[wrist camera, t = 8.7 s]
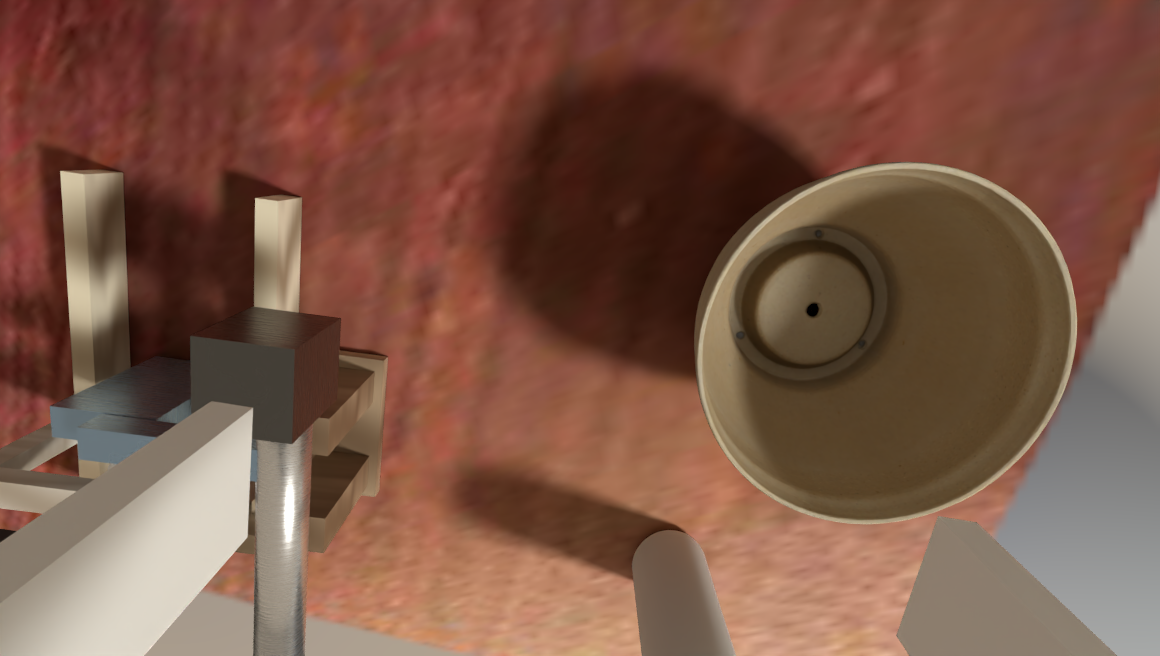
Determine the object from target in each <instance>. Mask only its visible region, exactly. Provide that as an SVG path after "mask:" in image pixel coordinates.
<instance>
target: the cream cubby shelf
mask: <svg viewBox="0 0 1160 656" xmlns="http://www.w3.org/2000/svg"><path fill="white" fill-rule="evenodd" d="M387 363H388V357H386V356H379V355H371V354H364V353H356V352H349V351H341V350H339V371H338V393H337V400H336V401H335V402H334V403H333V404H332V405H331V406H330V407H329V408H328V409H327V410H326V411H325V412H324V413H323V414H322V415H321V416H320V417H319V418H318V419H317V420H316V421H315V422H314V423H313V438H312V465H311V492H310V519H309V547H308V551H310V552H318V553H324V552H325V550H326V549H327V547H328V546H329V544H330V543H331V541H332V540H333V538H334V536H335V535H336V533H337V532H338V530H339V529H340V527H341V526H342V524H343V523H344V521H345V520H346V518H347V516H348V515H349V513H350V512H351V510H352V509H353V507H354V506H355V504H356V503H357V501H358V500H359V498H360V496H361V495H364V496H372V497H375V496H376V495H377V493H378V492H379V484H380V469H381V454H382V439H383V423H384V408H385V393H386V378H387Z"/></svg>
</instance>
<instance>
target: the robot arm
mask: <svg viewBox="0 0 1160 656" xmlns="http://www.w3.org/2000/svg"><path fill="white" fill-rule="evenodd" d="M252 422H253V408H252V407H245V406H239V405H233V404H227V403H220V402H214V401H211V402H209V403H208V404H206V405H205V406H203V407H202V408H200V409H199V410H197V411H196V412H194V413H193V414H191V415H190V416H188V417H187V418H185V419H184V420H182V421H181V422H179V423H178V424H176V425H175V426H173V427H172V428H171V429H169V430H168V431H166V432H165V433H163V434H162V435H160V436H159V437H157V438H156V439H154V440H153V441H151V442H150V443H148V444H147V445H145V446H144V447H142V448H141V449H139V450H138V451H136V452H135V453H133V454H132V455H130V456H129V457H127V458H126V459H124V460H123V461H121V462H120V463H118V464H117V465H115V466H114V467H112V468H111V469H109V470H108V471H106V472H105V473H103V474H102V475H100V476H99V477H97V478H96V479H94V480H93V481H91V482H90V483H88V484H87V485H85V486H84V487H82V488H81V489H79V490H78V491H76V492H75V493H73V494H72V495H70V496H69V497H67V498H66V499H64V500H63V501H61V502H60V503H58V504H57V505H55V506H54V507H52V508H51V509H49V510H48V511H46V512H45V513H43V514H42V515H40V516H39V517H37V518H36V519H34V520H33V521H31V522H30V523H29V524H27V525H26V526H24V527H23V528H21V529H20V530H18V531H11V530H5V529H0V656H144V655H145V654H146V653H147V652H148V651H149V649H150V648H151V647H152V646H153V645H154V644H155V643H156V641H157V640H158V639H159V638H160V637H161V636H162V635H163V633H164V632H165V631H166V630H167V629H168V628H169V627H170V625H171V624H172V623H173V622H174V621H175V619H176V618H177V617H178V616H179V615H180V614H181V613H182V612H183V611H184V609H185V608H186V607H187V606H188V605H189V604H190V602H191V601H192V600H193V599H194V598H195V597H196V596H197V595H198V593H199V592H200V591H201V590H202V589H203V588H204V587H205V585H206V584H207V583H208V582H209V581H210V580H211V578H212V577H213V576H214V575H215V574H216V573H217V572H218V570H219V569H220V568H221V567H222V566H223V565H224V564H225V562H226V561H227V560H228V559H229V558H230V557H231V556H232V554H233V553H234V552H235V551H236V550H237V549H238V548H239V546H240V545H241V544H242V543H243V542H244V541H245V540H246V538H247V537H248V514H249V491H250V468H251V445H252ZM896 636H897V637H898V639H899V640H900V642H901V643H902V645H903V647H904V648H905V650H906V651H907V653H908V654H909V656H1117V655H1116V654H1115V653H1114V652H1113V651H1112V650H1110V648H1108V647H1107V646H1106V645H1105V644H1104V643H1103V642H1102V641H1101V640H1100V639H1099V638H1098V637H1097V636H1096V635H1095V634H1094V633H1093V632H1092V631H1090V630H1089V629H1088V628H1087V627H1086V626H1085V625H1084V624H1083V623H1082V622H1081V621H1080V620H1079V619H1077V617H1076V616H1075V615H1074V614H1073V613H1071V611H1069V610H1068V609H1067V608H1066V607H1065V606H1064V605H1063V604H1062V603H1061V602H1060V601H1059V600H1058V599H1057V598H1056V597H1055V596H1054V595H1052V593H1050V592H1049V591H1048V590H1047V589H1046V588H1045V587H1044V586H1043V585H1042V584H1041V583H1040V582H1039V581H1038V580H1037V579H1036V578H1035V577H1034V576H1032V575H1031V574H1030V573H1029V572H1028V571H1027V570H1026V569H1025V568H1024V567H1023V566H1022V565H1021V564H1020V563H1019V562H1018V561H1017V560H1016V559H1015V558H1014V557H1012V556H1011V555H1010V554H1009V553H1008V552H1007V551H1006V550H1005V549H1004V548H1003V547H1002V546H1001V545H1000V544H999V543H998V542H997V541H996V540H995V539H993V538H992V537H991V536H990V535H989V534H988V533H987V532H986V531H985V530H984V529H983V528H982V527H981V526H980V525H979V524H978V523H977V522H971V521H965V520H959V519H952V518H946V517H940V516H938V518H937V521H936V524H935V526H934V529H933V532H932V535H931V538H930V541H929V544H928V546H927V549H926V552H925V555H924V558H923V561H922V564H921V566H920V569H919V572H918V575H917V578H916V581H915V584H914V587H913V589H912V592H911V595H910V598H909V601H908V604H907V607H906V609H905V612H904V615H903V618H902V621H901V624H900V627H899V629H898V632H897V635H896Z"/></svg>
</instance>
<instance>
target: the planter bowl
mask: <svg viewBox="0 0 1160 656" xmlns="http://www.w3.org/2000/svg"><path fill="white" fill-rule="evenodd" d="M813 303H816V304H817V305H818V308H819V311H818V314H817V315H816V316H813V317H812V316H809V315H808V314H807V311H806V310H807V307H808V306H809V305H810V304H813ZM1076 336H1077V314H1076V303H1075V296H1074V291H1073V286H1072V281H1071V278H1070V274H1069V271H1068V268H1067V265H1066V262H1065V260H1064V258H1063V256H1062V253H1061V251H1060V249H1059V247H1058V245H1057V244H1056V242H1055V240H1054V239H1053V237H1052V235H1051V234H1050V233H1049V231H1048V230H1047V228H1046V227H1045V226H1044V224H1043V223H1042V222H1041V220H1040V219H1039V218H1038V217H1037V216H1036V215H1035V214H1034V213H1033V212H1032V211H1031V210H1030V209H1029V208H1028V207H1027V206H1026V205H1025V204H1024V203H1022V202H1021V201H1020V200H1019V199H1017V198H1016V197H1015V196H1013V195H1012V194H1010V193H1009V192H1008V191H1006V190H1005V189H1003V188H1001V187H999V186H998V185H996V184H994V183H992V182H990V181H988V180H986V179H984V178H982V177H979V176H977V175H974V174H972V173H969V172H967V171H963V170H960V169H956V168H952V167H948V166H943V165H938V164H930V163H918V162H892V163H881V164H873V165H867V166H861V167H857V168H853V169H850V170H846V171H842V172H839V173H836V174H833V175H831V176H828V177H825V178H822V179H818V180H816V181H813V182H810V183H808V184H805V185H803V186H801V187H798V188H796V189H794V190H792V191H790V192H788V193H786V194H784V195H782V196H781V197H779V198H777V199H776V200H774V201H773V202H771V203H770V204H768V205H767V206H765V207H764V208H763V209H761V210H760V211H759V212H757V213H756V214H755V215H754V216H752V217H751V218H750V219H749V220H748V221H747V222H746V223H745V224H744V225H743V226H742V227H741V228H740V229H739V230H738V231H737V232H736V233H735V234H734V235H733V237H732V238H731V239H730V240H729V242H728V243H727V244H726V246H725V247H724V248H723V250H722V251H721V253H720V254H719V256H718V258H717V259H716V261H715V263H714V265H713V267H712V269H711V271H710V273H709V275H708V277H707V279H706V282H705V285H704V287H703V290H702V293H701V296H700V300H699V304H698V309H697V314H696V320H695V331H694V351H695V368H696V379H697V386H698V392H699V396H700V400H701V404H702V407H703V411H704V413H705V416H706V419H707V421H708V424H709V426H710V428H711V430H712V433H713V435H714V437H715V438H716V440H717V442H718V444H719V446H720V447H721V449H722V450H723V452H724V453H725V455H726V456H727V458H728V459H729V460H730V461H731V463H732V464H733V465H734V466H735V467H736V469H737V470H738V471H739V472H740V473H741V474H742V475H743V476H744V477H745V478H746V479H747V480H748V481H749V482H751V483H752V484H753V485H754V486H755V487H756V488H758V489H759V490H760V491H762V492H763V493H765V494H766V495H768V496H769V497H771V498H772V499H774V500H776V501H777V502H779V503H781V504H783V505H785V506H787V507H789V508H791V509H794V510H796V511H799V512H801V513H804V514H807V515H810V516H813V517H817V518H820V519H824V520H829V521H835V522H841V523H851V524H881V523H890V522H897V521H904V520H908V519H913V518H917V517H921V516H924V515H927V514H930V513H934V512H936V511H939V510H942V509H944V508H947V507H949V506H951V505H954V504H956V503H958V502H961V501H963V500H965V499H967V498H968V497H970V496H972V495H974V494H975V493H977V492H979V491H980V490H982V489H983V488H985V487H986V486H988V485H989V484H991V483H992V482H993V481H995V480H996V479H997V478H999V477H1000V476H1001V475H1002V474H1003V473H1005V472H1006V471H1007V470H1008V469H1009V468H1010V467H1011V466H1012V465H1013V464H1014V463H1015V462H1016V461H1017V460H1018V459H1019V458H1020V457H1021V456H1022V455H1023V454H1024V453H1025V452H1026V451H1027V450H1028V449H1029V448H1030V446H1031V445H1032V444H1033V443H1034V441H1035V440H1036V439H1037V437H1038V436H1039V435H1040V433H1041V432H1042V430H1043V429H1044V428H1045V426H1046V425H1047V423H1048V421H1049V420H1050V418H1051V416H1052V414H1053V412H1054V411H1055V409H1056V407H1057V405H1058V403H1059V401H1060V399H1061V397H1062V394H1063V392H1064V389H1065V387H1066V384H1067V381H1068V378H1069V375H1070V371H1071V367H1072V362H1073V358H1074V353H1075V347H1076Z"/></svg>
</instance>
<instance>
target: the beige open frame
mask: <svg viewBox="0 0 1160 656" xmlns="http://www.w3.org/2000/svg"><path fill="white" fill-rule="evenodd" d="M60 175H61V191H62V207H63V223H64V239H65V255H66V271H67V287H68V303H69V319H70V335H71V351H72V367H73V382H74V394H77V393H79V392H81V391H83V390H85V389H87V388H89V387H91V386H93V385H96V384H98V383H100V382H102V381H104V380H106V379H108V378H110V377H112V376H115V375H117V374H119V373H121V372H123V371H125V370H127V369H129V368H131V363H130V338H129V312H128V286H127V261H126V235H125V209H124V183H123V173H122V172H115V171H108V170H74V171H60ZM301 218H302V197H295V196H288V195H274V196H266V197H259V198H255V256H254V307H261V308H268V309H276V310H283V311H290V312H298V313H299V287H300V252H301ZM76 444H77V446H78V442H77V440H72V439H64V438H57V437H52V429H51V423H50V424H48V425H46V426H44V427H42V428H40V429H38V430H36V431H34V432H32V433H30V434H28V435H26V436H24V437H22V438H20V439H18V440H16V441H14V442H12V443H10V444H8V445H6V446H4V447H2V448H1V449H0V508H3V509H11V510H19V511H27V512H35V513H45V512H46V511H48V510H49V509H51V508H52V507H54V506H55V505H57V504H58V503H60V502H61V501H63V500H64V499H66V498H67V497H69V496H70V495H72V494H73V493H75V492H76V491H78V490H79V489H81V488H82V487H84V486H85V485H87V484H88V483H90V482H91V481H93V480H94V479H96V478H97V477H99V476H100V475H102V474H103V473H105V472H106V471H108V466H109V464H110V463H103V462H95V461H87V460H79V458H78V462H79V477H75V476H67V475H59V474H51V473H43V472H35V471H30V470H32V469H34V468H35V467H37V466H39V465H41V464H42V463H44V462H46V461H48V460H49V459H51V458H53V457H55V456H56V455H58V454H60V453H62V452H63V451H65V450H67V449H69V448H70V447H72V446H74V445H76ZM255 483H256V482H254V481H250V491H249V514H248V537H247V538H246V540H245V541H244V542H243V543H242V544H241V545H240V546H239V548H238V549H237V550H236V551H235V552H240V553H248V554H255Z"/></svg>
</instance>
